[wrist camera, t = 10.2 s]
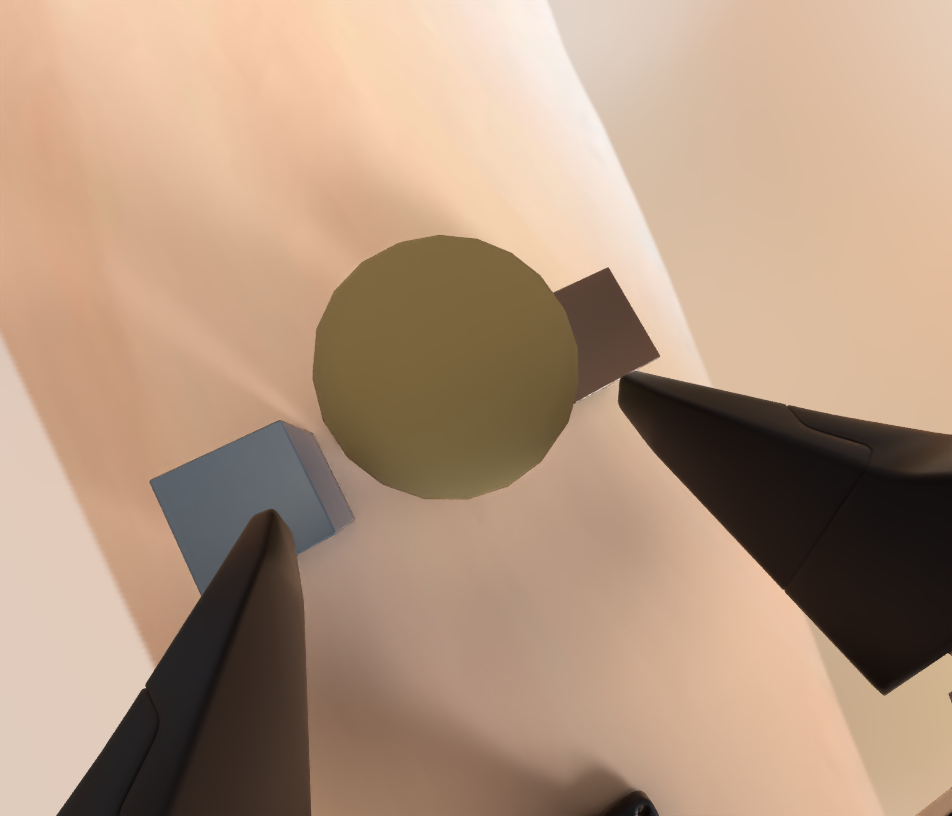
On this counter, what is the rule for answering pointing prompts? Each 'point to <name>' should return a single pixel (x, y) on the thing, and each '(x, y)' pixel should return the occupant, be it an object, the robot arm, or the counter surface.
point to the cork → (445, 367)
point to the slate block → (250, 495)
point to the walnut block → (604, 332)
